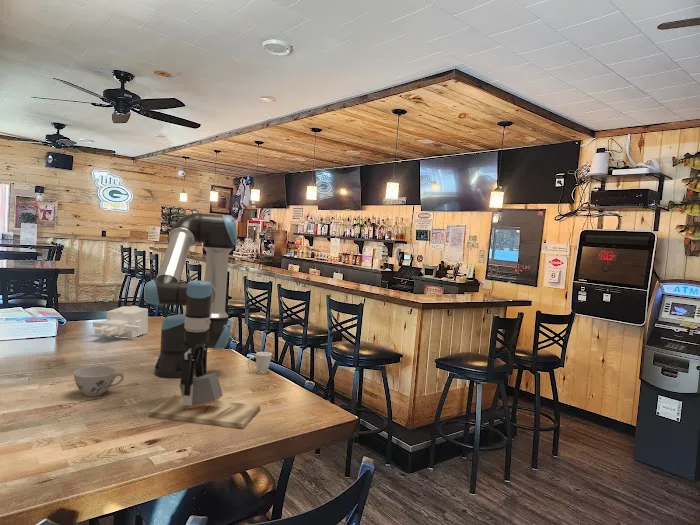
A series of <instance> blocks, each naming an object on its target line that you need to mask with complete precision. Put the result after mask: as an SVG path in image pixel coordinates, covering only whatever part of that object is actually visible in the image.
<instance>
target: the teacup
mask: <svg viewBox="0 0 700 525" xmlns="http://www.w3.org/2000/svg"><path fill="white" fill-rule="evenodd" d="M124 376H125V375H124V373H123V372H120V371H119V372H117V370H116V368H114V367H111V366H108V365H107V366H106V365H90V366H84V367H82V368H77V369H75V370H74V371H73V377H74V383H75V385H76V387H77V388H78V390H79V391H80V392H81V393H82V394H83V395H84V396H86V397H99V396H102V395H103V394H104V393H105V392H107V390H109V388H111V387H115V386H119V385H120V384H121V383H122V382H123V381H124V378H125V377H124ZM117 377H120V378H121V379H120V380H119V381H117V382H116V383H114V381H115V379H116V378H117Z"/></svg>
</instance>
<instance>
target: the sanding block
mask: <svg viewBox="0 0 700 525" xmlns="http://www.w3.org/2000/svg"><path fill="white" fill-rule="evenodd" d="M192 384H193V401H192V406H189V405H185V407H186V409H190V408H194V407H198V406H202V405H206V404H210V403H214V402H216V401H220V399H222V397H224V395H223V392H222V391H223V390H222V388H221V384H220V380H219V376H218V373H217V372H216V371H215V372H212V373H209V374H207V373H206V374H204V375H203V376H199V377H196V376H195V377H193V381H192ZM179 388H180V392H181V396H183V395H184V385H182V384H180V383H179Z"/></svg>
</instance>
